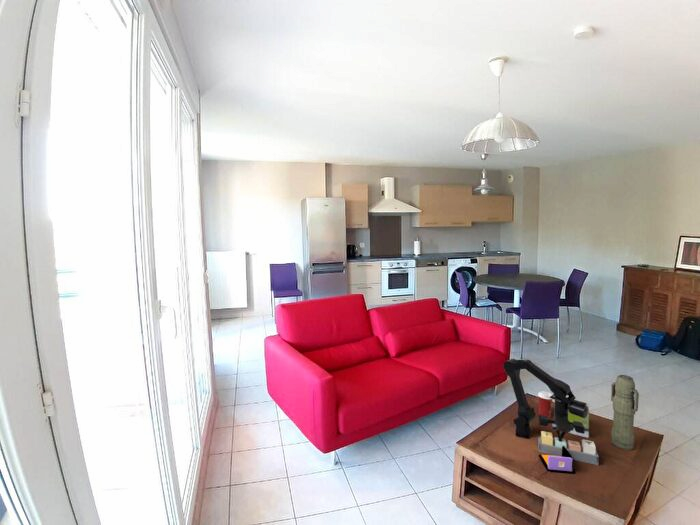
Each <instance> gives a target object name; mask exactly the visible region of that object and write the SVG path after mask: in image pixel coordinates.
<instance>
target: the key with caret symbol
mask: <svg viewBox="0 0 700 525" xmlns="http://www.w3.org/2000/svg"><path fill="white" fill-rule="evenodd" d="M553 440H554V446H555V447H560V448H562V446H564V447H565V448H566V442H567V441H566V438H563V439H562V441H559V438H558V437H556V436H554V438H553Z"/></svg>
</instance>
